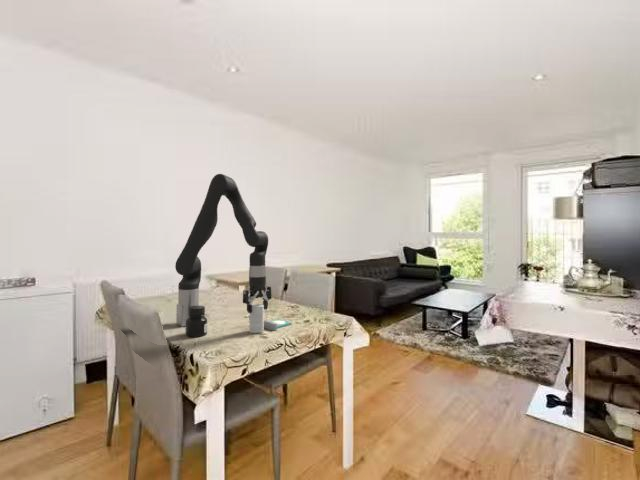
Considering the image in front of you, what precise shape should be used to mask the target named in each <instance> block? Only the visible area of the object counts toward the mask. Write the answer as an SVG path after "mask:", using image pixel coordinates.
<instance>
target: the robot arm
mask: <svg viewBox="0 0 640 480" xmlns="http://www.w3.org/2000/svg"><path fill="white" fill-rule="evenodd" d="M206 192H207V193H206V195H205V197H204V198H205V199H204V200H203V204H202V206H201V208H200V211H199V213H198V215H197V217H196V219H195V221H194V224H193V227H192V229H191V232H190V234H189V236H188V239H187V241H186V243H185V245H184V247H183V248H182V250H181V252H180V254H179V256H178V257H177V260H176V261H175V265H174V266H175V270H176V273H177V274H178V275H181V276H182V278H181V280H180V281H179V282H178V286H177V287H178V291H177V292H178V293H177V295H178V296H177V297H178V298H177V300H178V302H177V303H178V304H176V312H175V313H176V314H175V315H176V323H175V324H176V325H178V326H180V327H186V319H188V317H189V316H188V307H191V306H197V305H199V304H200V303H199V302H200V300H199V299H200V283H201V278H202V262H201V259H200V257H198V254H199V253H200V251H201V250H202V248H203V247H204V245H206V244H207V242H208V241H209V240H210V238H211V237H212V235H213V233H214V231H215V230H216V227H217V225H218V219H219V218H218V208H219V207H218V206H219V203H220V202H221V199H222V196H224V197H225V198H226V199H227V200H228V201H229V203H230V205H231V206H232V210H233V211H232V212H233V214H234V215H233V216H234V218H235V220H236V221H237V223H238V224H239V226H240V228H241V230H242V234H243V237H244V238H243V239H244V240H245V242H246V243H247V245H248V246H250V247H251V248H254V250H253V251H252V252H251V253H250V254H249V268H248V286H249V289H243V291H242V304H246V311H247V313H252V305H253V302H254V301H255V300H256V299H258V298H261V299H262V305H264V311H265V310H268V308H269V300H272V286H267V269H266V254H267V250H268V246H269V236H268V234H267V232H265V231H262V230H261V231H260V230H259V231H258V230H256V229H255V228H256V227H257V222H256V220H255V218H254V216H253V215H252V213H251V212H250V209H248V207H247V205H246V203H245V201H244V200H243V197H242V195H241V192H240V190H239V187H238V185H237V183H236V181H235V180H234V178H232V177H230V176H227V175H225V174H223V173H217V174H215V175H214V176H213V178H211V181H210V183H209V187H208V189H207V191H206Z"/></svg>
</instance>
